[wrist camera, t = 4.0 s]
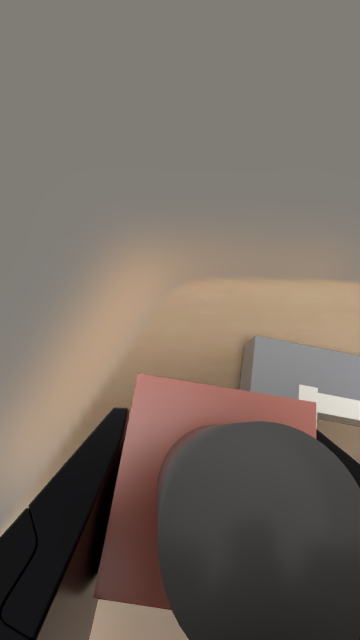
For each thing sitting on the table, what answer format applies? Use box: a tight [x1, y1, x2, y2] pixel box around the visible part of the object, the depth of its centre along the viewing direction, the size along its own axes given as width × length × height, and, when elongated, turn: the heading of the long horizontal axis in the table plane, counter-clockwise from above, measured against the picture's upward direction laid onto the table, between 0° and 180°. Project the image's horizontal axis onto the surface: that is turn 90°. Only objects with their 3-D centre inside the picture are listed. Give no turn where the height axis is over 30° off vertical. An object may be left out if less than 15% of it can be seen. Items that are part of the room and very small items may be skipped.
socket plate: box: [239, 336, 360, 429], centre depth 20 cm, size 14×14×3 cm
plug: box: [93, 373, 360, 640], centre depth 9 cm, size 4×4×12 cm
